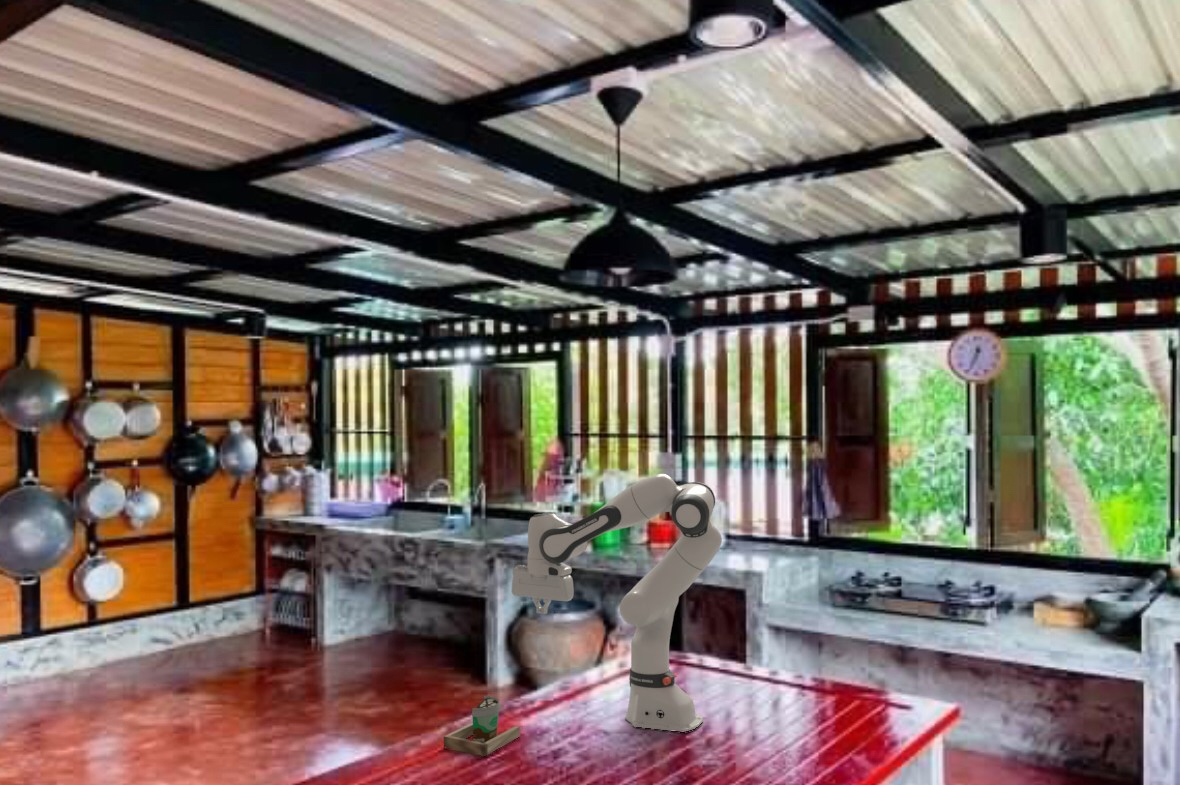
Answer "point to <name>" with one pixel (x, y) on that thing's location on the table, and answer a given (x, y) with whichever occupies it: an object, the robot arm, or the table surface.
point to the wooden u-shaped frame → (462, 744)
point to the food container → (485, 719)
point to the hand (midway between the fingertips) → (541, 613)
